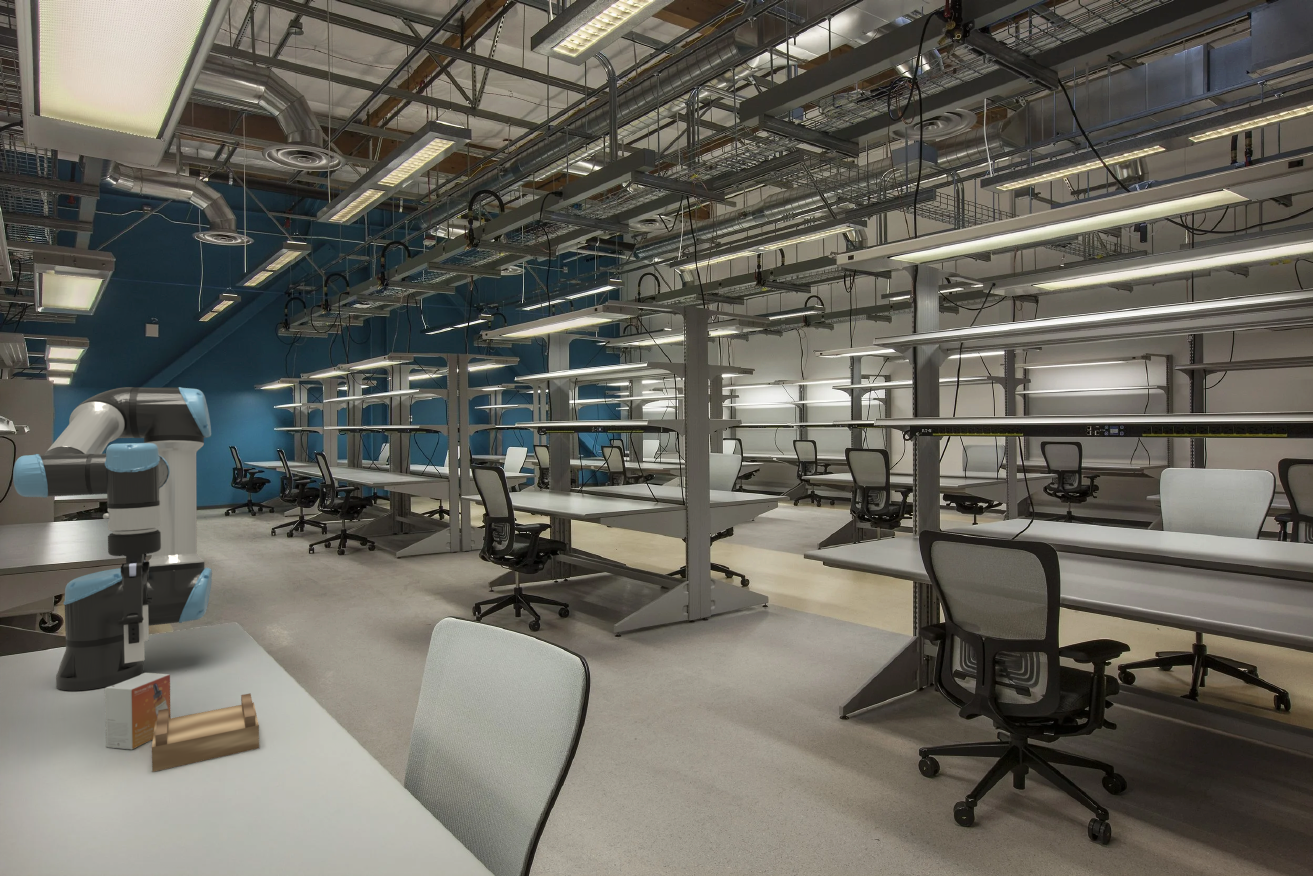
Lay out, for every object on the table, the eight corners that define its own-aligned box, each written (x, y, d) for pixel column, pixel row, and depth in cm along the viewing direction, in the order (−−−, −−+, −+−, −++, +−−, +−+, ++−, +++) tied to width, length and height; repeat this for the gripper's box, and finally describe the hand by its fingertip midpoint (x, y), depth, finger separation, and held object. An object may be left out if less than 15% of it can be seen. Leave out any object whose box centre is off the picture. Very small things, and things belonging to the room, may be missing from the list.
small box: (131, 751, 122) (130, 689, 122) (104, 748, 123) (103, 687, 123) (172, 731, 130) (171, 673, 130) (146, 728, 131) (145, 671, 131)
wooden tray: (155, 744, 125) (154, 711, 125) (254, 723, 133) (253, 692, 133) (152, 772, 115) (151, 736, 115) (259, 748, 123) (258, 714, 123)
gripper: (114, 524, 134) (117, 637, 135) (99, 542, 113) (103, 675, 114) (162, 521, 138) (165, 630, 139) (157, 537, 117) (160, 666, 118)
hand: (137, 651), depth 126 cm, fingers open, 13 cm apart
